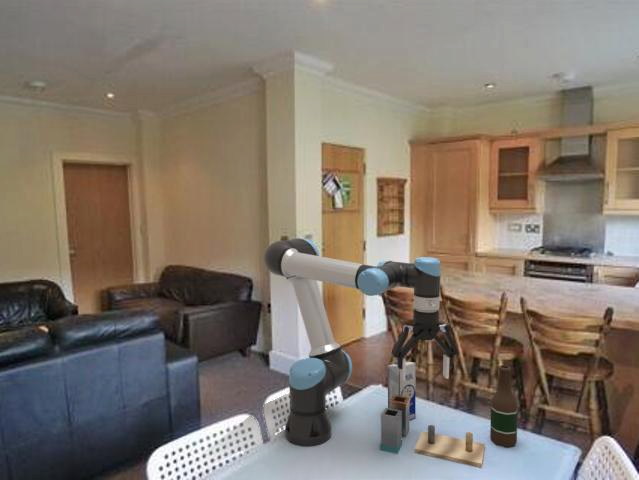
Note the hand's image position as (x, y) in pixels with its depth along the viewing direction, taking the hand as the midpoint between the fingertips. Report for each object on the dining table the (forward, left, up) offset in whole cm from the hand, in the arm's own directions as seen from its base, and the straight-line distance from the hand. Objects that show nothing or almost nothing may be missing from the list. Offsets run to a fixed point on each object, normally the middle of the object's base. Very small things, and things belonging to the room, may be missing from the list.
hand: (424, 378), depth 132 cm
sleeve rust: (-9, +5, -22) cm, 24 cm away
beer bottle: (+22, +12, -22) cm, 33 cm away
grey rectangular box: (-9, -5, -22) cm, 24 cm away
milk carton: (-11, +15, -22) cm, 29 cm away
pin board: (+7, +1, -22) cm, 23 cm away
